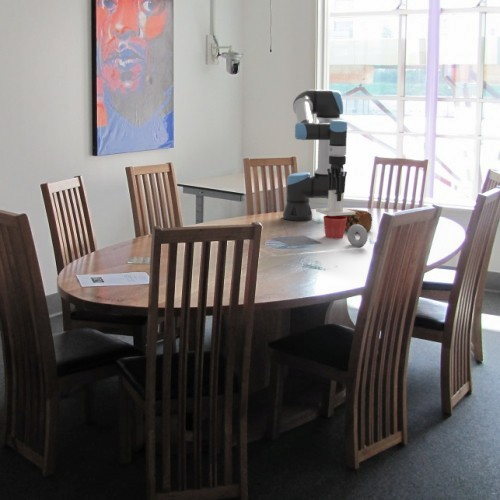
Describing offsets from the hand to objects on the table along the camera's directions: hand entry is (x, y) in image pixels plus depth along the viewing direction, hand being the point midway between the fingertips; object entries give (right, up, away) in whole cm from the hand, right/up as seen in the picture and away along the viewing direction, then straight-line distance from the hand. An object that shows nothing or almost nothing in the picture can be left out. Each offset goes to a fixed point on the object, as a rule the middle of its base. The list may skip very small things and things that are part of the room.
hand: (335, 207), depth 363 cm
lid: (0, -2, +1) cm, 2 cm away
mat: (-18, -15, -7) cm, 24 cm away
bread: (+9, -10, +24) cm, 27 cm away
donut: (+7, -18, -16) cm, 25 cm away
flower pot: (0, -14, +3) cm, 14 cm away
